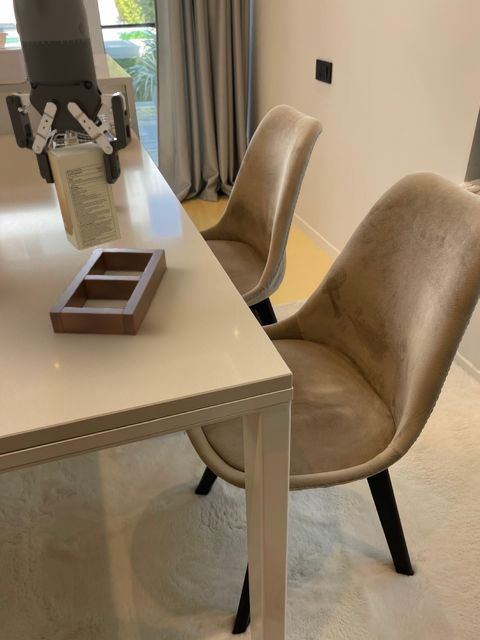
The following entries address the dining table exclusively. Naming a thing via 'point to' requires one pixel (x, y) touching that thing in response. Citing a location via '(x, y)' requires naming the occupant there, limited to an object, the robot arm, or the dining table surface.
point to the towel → (79, 135)
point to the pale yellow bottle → (71, 138)
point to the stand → (110, 292)
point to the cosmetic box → (84, 195)
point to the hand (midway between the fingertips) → (82, 181)
